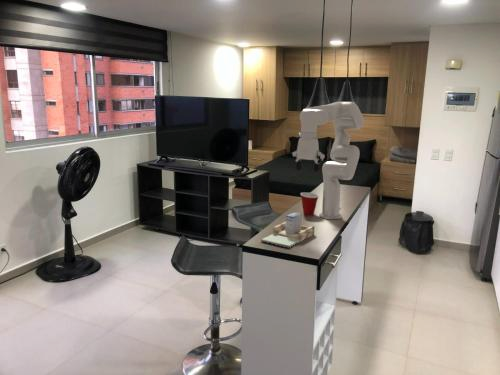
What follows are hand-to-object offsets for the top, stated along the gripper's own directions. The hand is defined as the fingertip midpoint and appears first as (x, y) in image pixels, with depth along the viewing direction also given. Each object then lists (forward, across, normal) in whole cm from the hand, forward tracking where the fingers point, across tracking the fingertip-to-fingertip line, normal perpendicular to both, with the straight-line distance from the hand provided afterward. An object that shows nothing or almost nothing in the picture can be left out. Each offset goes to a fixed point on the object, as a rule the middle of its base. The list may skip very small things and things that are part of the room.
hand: (307, 170), depth 202 cm
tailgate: (+29, 0, -19) cm, 34 cm away
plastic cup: (+31, -12, +27) cm, 42 cm away
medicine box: (+28, 0, -12) cm, 31 cm away
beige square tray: (+30, 0, -12) cm, 33 cm away
